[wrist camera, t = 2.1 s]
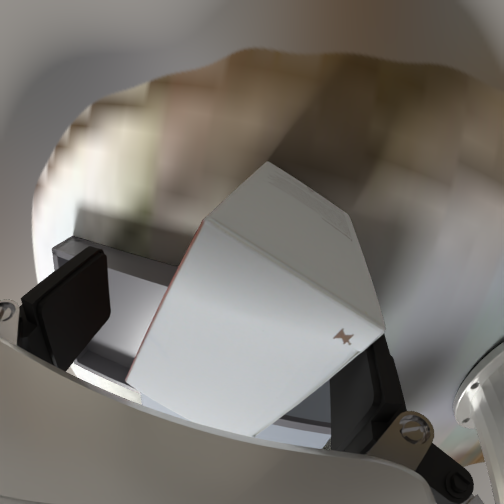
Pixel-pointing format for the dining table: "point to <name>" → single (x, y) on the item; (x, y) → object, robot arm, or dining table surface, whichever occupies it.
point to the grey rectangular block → (289, 420)
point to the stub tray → (120, 307)
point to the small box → (259, 308)
